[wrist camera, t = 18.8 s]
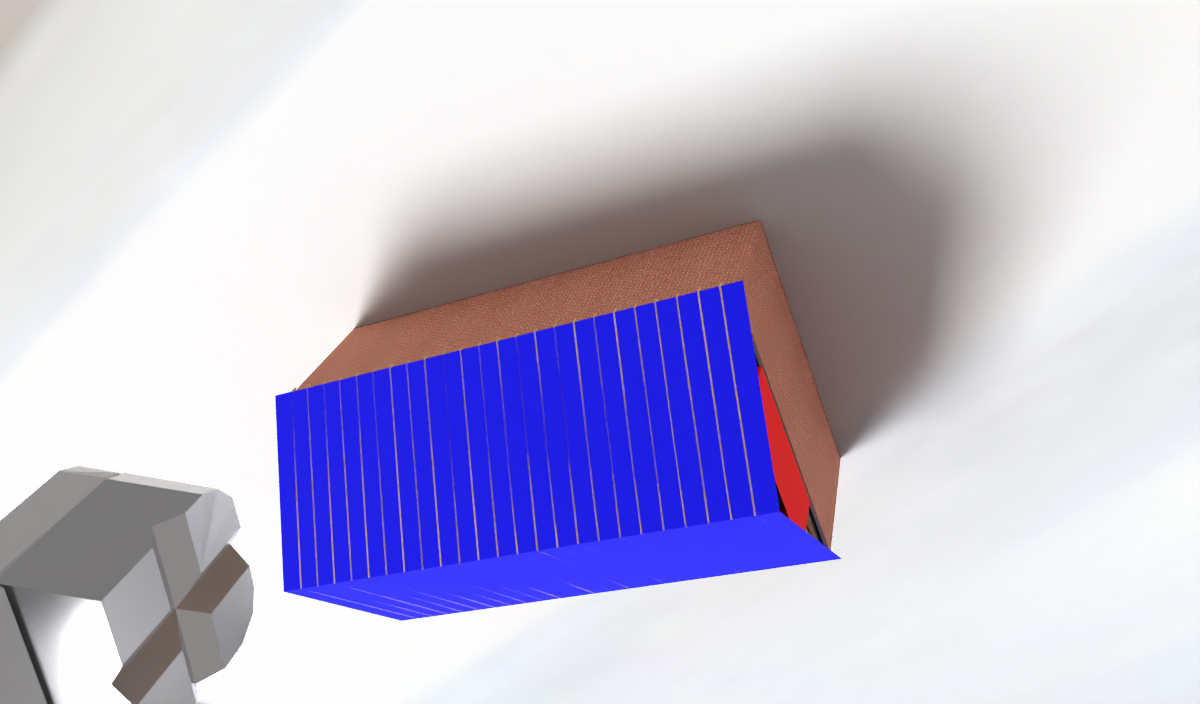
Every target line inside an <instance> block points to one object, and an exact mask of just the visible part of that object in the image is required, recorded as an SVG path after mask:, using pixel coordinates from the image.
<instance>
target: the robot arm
mask: <svg viewBox="0 0 1200 704" xmlns="http://www.w3.org/2000/svg"><path fill="white" fill-rule="evenodd" d="M239 528H240V525H239V521H238V517H237V514H236V510H235V507H234V503H233V500H232V497H230V496H228V495H227V494H225V493H223V492H221V491H220V490H218V489H213V488H207V487H201V486H195V485H189V484H184V483H178V482H172V481H166V480H160V479H155V478H149V477H143V476H137V475H131V474H126V473H125V474H119V473H114V472H108V471H102V470H97V469H91V468H85V467H79V466H78V467H74V468H70V469H66V470H61V471H59V472H58V473H56V474H55V475H54V476H53V477H52V478H51V479H49V480H48V481H47V482H46V483H45V484H44V485H42V486H41V487H40V488H39V489H38V490H36V491H35V492H34V493H33V494H32V495H31V496H29V497H28V498H27V499H26V500H25V501H24V502H22V503H21V504H20V505H19V506H18V507H16V508H15V509H14V510H13V511H12V512H11V513H9V514H8V515H7V516H6V517H5V518H4V519H2V520H1V521H0V704H197V697H196V683H197V682H199V681H201V680H203V679H205V678H207V677H208V676H210V675H212V674H214V673H216V672H218V671H220V670H222V669H223V668H225V667H226V665H227V664H228V663H229V661H230V660H231V658H232V657H233V656H234V654H235V653H236V651H237V650H238V648H239V647H240V646H241V644H242V642H243V639H244V636H245V633H246V630H247V628H248V625H249V622H250V619H251V616H252V613H253V592H254V587H253V582H252V577H251V573H250V568H249V565H248V564H247V563H246V562H245V561H244V560H243V559H242V558H241V556H240V555H239V554H238V553H237V552H236V551H235V550H234V549H233V547H232V546H231V545H230V543H231V541H232V539H233V538H234V536H235V535H236V533H237V532H238V530H239Z"/></svg>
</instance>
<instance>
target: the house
mask: <svg viewBox="0 0 1200 704" xmlns="http://www.w3.org/2000/svg"><path fill="white" fill-rule="evenodd" d="M276 419H277V441H278V464H279V487H280V510H281V533H282V556H283V579H284V592H288V593H292V594H296V595H301V596H305V597H309V598H313V599H317V600H321V601H325V602H329V603H333V604H337V605H341V606H345V607H349V608H353V609H357V610H361V611H365V612H369V613H373V614H378V615H382V616H386V617H390V618H394V619H398V620H408V619H415V618H422V617H429V616H437V615H444V614H451V613H458V612H465V611H472V610H479V609H486V608H493V607H501V606H508V605H515V604H522V603H529V602H536V601H543V600H550V599H557V598H565V597H572V596H579V595H586V594H593V593H600V592H607V591H614V590H621V589H629V588H636V587H643V586H650V585H657V584H664V583H671V582H678V581H685V580H693V579H700V578H707V577H714V576H721V575H728V574H735V573H742V572H749V571H757V570H764V569H771V568H778V567H785V566H792V565H799V564H806V563H813V562H821V561H828V560H835V559H841V558H840V557H838V556H837V555H836V554H835V553H833V552H832V551H831V541H832V531H833V522H834V513H835V504H836V495H837V486H838V476H839V467H840V455H839V452H838V449H837V446H836V443H835V440H834V437H833V434H832V431H831V428H830V426H829V423H828V420H827V417H826V414H825V411H824V408H823V405H822V402H821V399H820V396H819V393H818V390H817V387H816V384H815V381H814V378H813V375H812V372H811V369H810V366H809V363H808V360H807V357H806V355H805V352H804V349H803V346H802V343H801V340H800V337H799V334H798V331H797V328H796V325H795V322H794V319H793V316H792V313H791V310H790V307H789V304H788V301H787V298H786V295H785V292H784V289H783V286H782V284H781V281H780V278H779V275H778V272H777V269H776V266H775V263H774V260H773V257H772V254H771V251H770V248H769V245H768V242H767V239H766V236H765V233H764V230H763V227H762V224H761V221H760V220H758V221H755V222H751V223H747V224H743V225H740V226H736V227H732V228H729V229H725V230H721V231H717V232H714V233H710V234H706V235H702V236H699V237H695V238H691V239H687V240H684V241H680V242H676V243H672V244H669V245H665V246H661V247H657V248H654V249H650V250H646V251H642V252H639V253H635V254H631V255H628V256H624V257H620V258H616V259H613V260H609V261H605V262H601V263H598V264H594V265H590V266H586V267H583V268H579V269H575V270H571V271H568V272H564V273H560V274H556V275H553V276H549V277H545V278H541V279H538V280H534V281H530V282H527V283H523V284H519V285H515V286H512V287H508V288H504V289H500V290H497V291H493V292H489V293H485V294H482V295H478V296H474V297H470V298H467V299H463V300H459V301H455V302H452V303H448V304H444V305H440V306H437V307H433V308H429V309H426V310H422V311H418V312H414V313H411V314H407V315H403V316H399V317H396V318H392V319H388V320H384V321H381V322H377V323H373V324H369V325H366V326H362V327H358V328H354V330H353V331H352V332H351V333H350V334H349V335H348V336H347V337H346V338H345V339H344V340H343V341H342V342H341V343H340V344H339V345H338V346H337V348H336V349H335V350H334V351H333V352H332V353H331V354H330V355H329V356H328V357H327V358H326V359H325V360H324V361H323V362H322V363H321V364H320V365H319V367H318V368H317V369H316V370H315V371H314V372H313V373H312V374H311V375H310V376H309V377H308V378H307V379H306V380H305V381H304V382H303V383H302V385H301V386H300V387H299V388H298V389H297V390H296V388H294V389H293V391H292V392H289V393H285V394H281V395H277V396H276Z"/></svg>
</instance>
